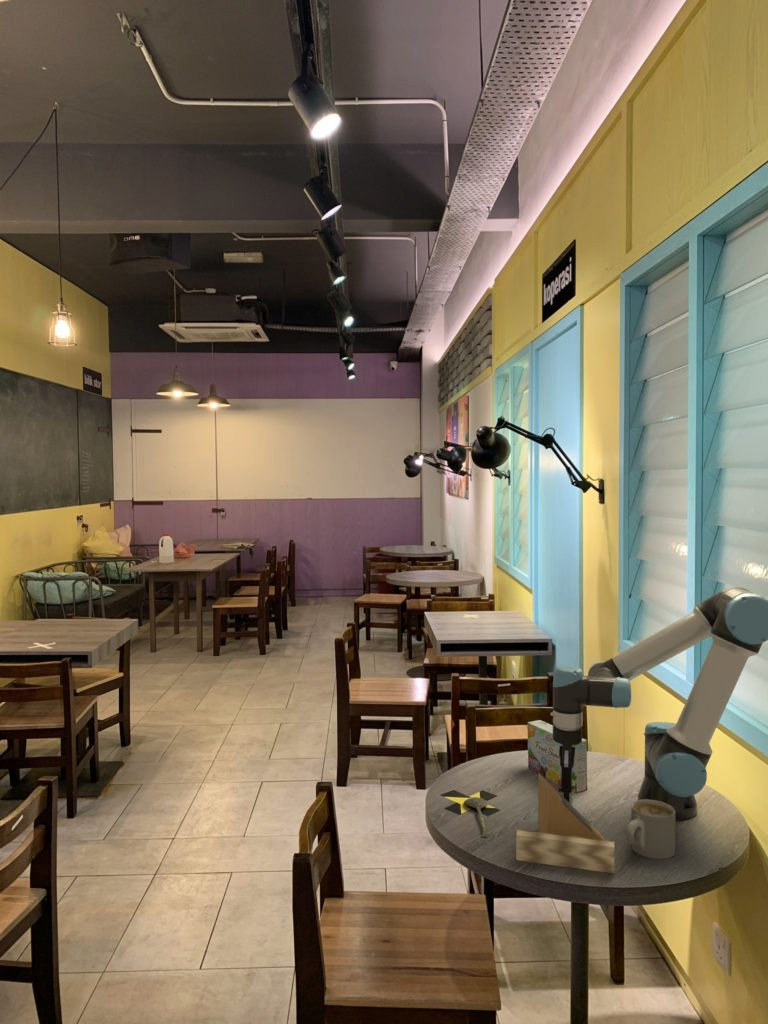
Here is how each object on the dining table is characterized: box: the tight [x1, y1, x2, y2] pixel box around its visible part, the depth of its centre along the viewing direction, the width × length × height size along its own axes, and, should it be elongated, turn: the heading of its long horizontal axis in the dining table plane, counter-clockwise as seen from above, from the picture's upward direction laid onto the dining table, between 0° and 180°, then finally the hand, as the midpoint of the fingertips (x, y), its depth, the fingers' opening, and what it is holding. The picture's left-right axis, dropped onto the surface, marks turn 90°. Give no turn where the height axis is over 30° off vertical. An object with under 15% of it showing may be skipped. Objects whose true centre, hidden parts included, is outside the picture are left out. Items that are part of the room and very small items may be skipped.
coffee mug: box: [625, 799, 676, 860], centre depth 174 cm, size 13×10×10 cm
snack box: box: [527, 719, 588, 794], centre depth 217 cm, size 21×6×15 cm, turn 28°
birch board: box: [515, 828, 616, 874], centre depth 167 cm, size 22×3×6 cm, turn 74°
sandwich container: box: [537, 774, 606, 840], centre depth 180 cm, size 9×15×15 cm, turn 94°
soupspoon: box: [463, 796, 490, 838], centre depth 192 cm, size 22×3×7 cm
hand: (566, 814), depth 189 cm, fingers closed
